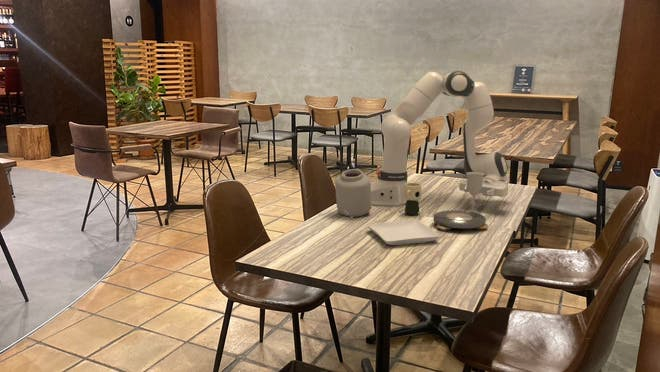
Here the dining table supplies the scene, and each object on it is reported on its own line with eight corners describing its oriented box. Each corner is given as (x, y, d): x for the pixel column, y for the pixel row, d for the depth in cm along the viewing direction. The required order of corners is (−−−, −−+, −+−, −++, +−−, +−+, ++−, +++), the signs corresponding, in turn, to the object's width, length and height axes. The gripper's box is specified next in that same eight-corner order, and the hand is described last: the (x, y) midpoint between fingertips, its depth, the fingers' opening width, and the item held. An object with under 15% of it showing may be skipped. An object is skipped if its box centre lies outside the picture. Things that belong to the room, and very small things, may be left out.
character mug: (414, 218, 229) (415, 187, 226) (398, 215, 233) (399, 185, 230) (424, 212, 238) (425, 182, 235) (409, 209, 242) (410, 180, 239)
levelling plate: (440, 234, 208) (441, 224, 208) (427, 218, 229) (427, 209, 228) (492, 233, 210) (493, 223, 209) (474, 217, 230) (475, 208, 229)
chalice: (480, 213, 236) (482, 172, 232) (482, 218, 229) (485, 175, 225) (462, 213, 237) (465, 171, 233) (464, 217, 230) (467, 175, 226)
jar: (361, 222, 223) (362, 161, 217) (328, 218, 228) (328, 159, 223) (375, 210, 240) (376, 154, 234) (343, 207, 245) (344, 151, 240)
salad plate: (386, 249, 193) (386, 240, 192) (365, 231, 213) (366, 223, 212) (441, 244, 198) (441, 235, 198) (416, 227, 218) (417, 219, 218)
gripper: (467, 175, 248) (453, 181, 238) (511, 182, 236) (499, 187, 226) (466, 189, 250) (452, 195, 239) (510, 196, 238) (498, 202, 227)
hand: (475, 191), depth 232 cm, fingers open, 8 cm apart
